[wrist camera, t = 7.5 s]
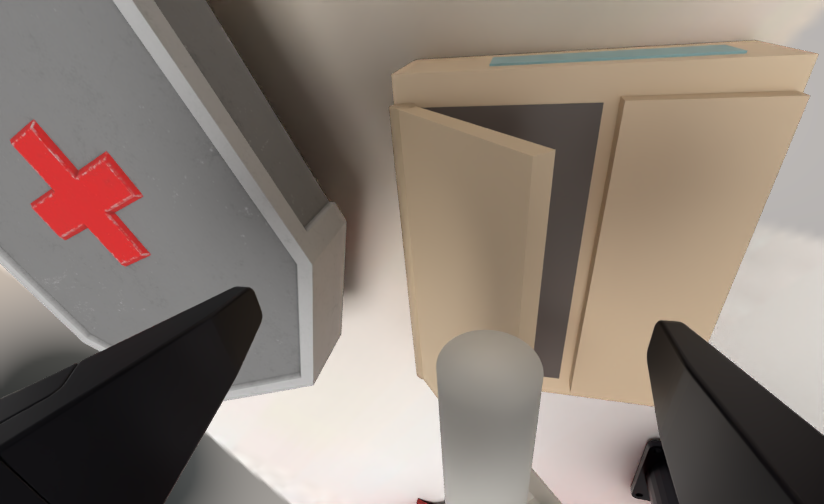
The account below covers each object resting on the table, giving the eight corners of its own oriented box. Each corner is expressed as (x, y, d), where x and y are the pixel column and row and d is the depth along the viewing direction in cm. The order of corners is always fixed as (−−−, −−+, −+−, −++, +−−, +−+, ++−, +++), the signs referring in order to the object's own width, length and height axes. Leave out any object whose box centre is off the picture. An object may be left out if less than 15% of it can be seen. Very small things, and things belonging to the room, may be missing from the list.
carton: (656, 351, 23) (681, 422, 20) (433, 327, 27) (417, 385, 23) (758, 37, 15) (839, 53, 11) (415, 57, 18) (384, 75, 14)
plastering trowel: (588, 561, 14) (475, 656, 12) (428, 362, 23) (347, 401, 21) (711, 194, 7) (478, 293, 5) (408, 101, 15) (279, 127, 14)
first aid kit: (420, 278, 25) (127, -249, 15) (385, 372, 19) (-150, -414, 9) (228, 332, 32) (-53, 2, 22) (157, 412, 26) (-272, 6, 16)
